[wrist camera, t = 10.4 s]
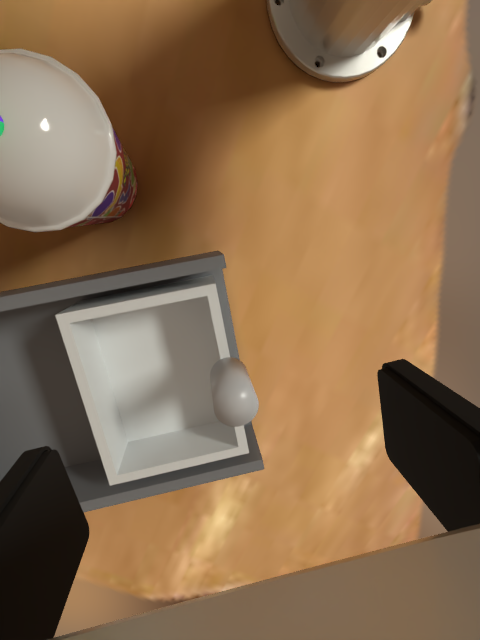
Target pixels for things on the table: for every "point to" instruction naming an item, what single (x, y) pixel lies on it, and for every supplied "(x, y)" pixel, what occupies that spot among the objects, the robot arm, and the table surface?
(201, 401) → the drawer
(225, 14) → the table surface
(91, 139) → the smoothie
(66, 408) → the bay
